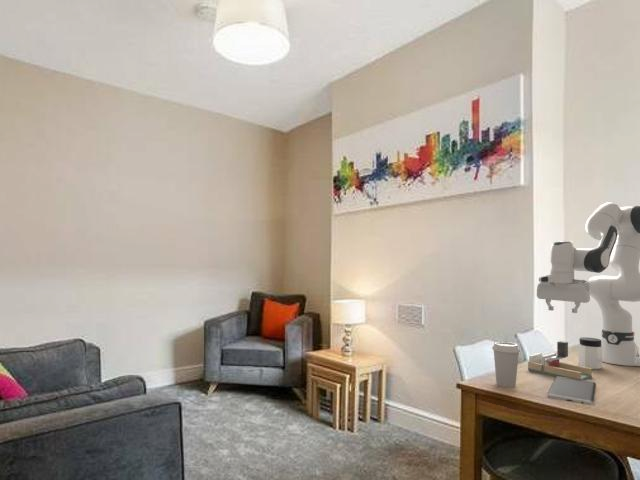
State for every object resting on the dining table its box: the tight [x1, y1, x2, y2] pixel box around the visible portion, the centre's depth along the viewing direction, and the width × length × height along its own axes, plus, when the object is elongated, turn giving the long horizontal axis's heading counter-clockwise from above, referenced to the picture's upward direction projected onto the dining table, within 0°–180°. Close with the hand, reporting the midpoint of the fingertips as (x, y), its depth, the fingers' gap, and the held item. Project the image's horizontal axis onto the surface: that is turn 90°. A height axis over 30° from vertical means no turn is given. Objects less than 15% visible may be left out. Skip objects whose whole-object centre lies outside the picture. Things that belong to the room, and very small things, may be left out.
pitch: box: [527, 352, 593, 381], centre depth 178 cm, size 11×20×7 cm, turn 38°
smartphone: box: [546, 376, 597, 406], centre depth 156 cm, size 13×27×2 cm, turn 146°
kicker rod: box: [546, 340, 569, 368], centre depth 181 cm, size 15×3×10 cm, turn 128°
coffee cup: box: [491, 341, 521, 388], centre depth 161 cm, size 10×10×15 cm
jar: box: [577, 336, 604, 370], centre depth 190 cm, size 9×8×12 cm
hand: (562, 311), depth 185 cm, fingers open, 8 cm apart
